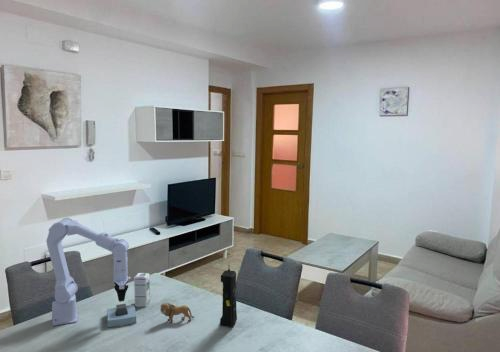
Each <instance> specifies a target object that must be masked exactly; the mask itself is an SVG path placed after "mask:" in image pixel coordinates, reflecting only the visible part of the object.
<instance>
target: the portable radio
mask: <svg viewBox="0 0 500 352" xmlns="http://www.w3.org/2000/svg"><path fill="white" fill-rule="evenodd" d="M228 267H230V265H229V264H228ZM220 282H221V283H222V311H221V312H222V313H221V314H222V315H221V317H220V318H219V323H220V324H219V326H220V327H225V328H233V327H235V324H236V322H237V320H238V317H237V316H238V315H237V311H238V310H237V297H236V290H237V272H236V271H235V270H231V269H230V268H228V270H226V269H225V270H224V271H223V272H222V274H220Z"/></svg>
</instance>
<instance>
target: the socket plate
mask: <svg viewBox="0 0 500 352" xmlns="http://www.w3.org/2000/svg"><path fill="white" fill-rule="evenodd" d="M135 307H136V306H135V304H134V305H126V315H120V316H116V307H113V308H107V309H106V311H107V328H113V327H122V326H126V325H131V324H132V325H133V324H137V314H136V313H137V312H136V308H135Z"/></svg>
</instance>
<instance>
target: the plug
mask: <svg viewBox="0 0 500 352" xmlns="http://www.w3.org/2000/svg"><path fill="white" fill-rule="evenodd" d="M126 306H127V304H126V303H121V304H116V306H115V308H116V316H120V315H126Z"/></svg>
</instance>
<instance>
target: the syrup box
mask: <svg viewBox="0 0 500 352" xmlns="http://www.w3.org/2000/svg"><path fill="white" fill-rule="evenodd" d="M133 280H134V281H133V282H134V283H133V286H134V290H133V291H134V307H138V308H139V307H141V308H143V307H144V308H145V307H146V308H147V307H148V305H149V304H150V302H151V288H150V287H151V285H150V284H151V283H150V282H151V281H150V273H149V272H138V273H137V274H136V275H134V277H133Z"/></svg>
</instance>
